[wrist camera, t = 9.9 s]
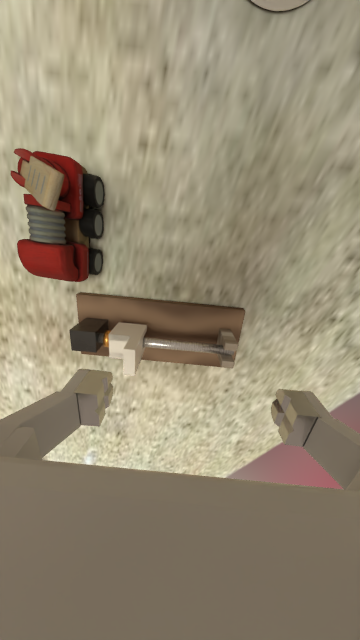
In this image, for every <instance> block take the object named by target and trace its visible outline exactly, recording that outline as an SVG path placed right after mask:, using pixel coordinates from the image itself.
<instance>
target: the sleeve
mask: <svg viewBox="0 0 360 640" xmlns="http://www.w3.org/2000/svg"><path fill="white" fill-rule="evenodd" d="M146 331H147V325H142V324H132V323H121V322H118V324H117V325H116V326H115V327H114V328H113V329H112V331H111V332H110V333H109V358H116V359H123V375H130V376H135V374H136V371H137V369H138V366H139V363H140V361H141V358H142V355H143V353H144V350H145V348H146V347H143V337H144V335H145V333H146Z"/></svg>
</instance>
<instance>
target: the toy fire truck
mask: <svg viewBox="0 0 360 640" xmlns="http://www.w3.org/2000/svg"><path fill="white" fill-rule="evenodd" d="M14 153H15V154H17V155H18V156H20V157H21V158H20V160H19V162H18V173H17V172H15V171H11V176H12V178H13V179H14V180H15V181H16V182H17V183H18V184H19V185H20V186H22V187H24V188H26V189H27V190H28V191H29V192H30V193H31V194H24V203H25V204H27V207H26V210H27V212H28V214H27V218H28V219H29V222H28V225H29V226H30V229H29V233H30V234H31V235H30V239H22V240H19V241H18V243H17V247H18V254H19V258H20V260H21V262H22V264H23V266H24V267H25V268H26V269H27V270H28V271H29V272H30V273H32V274H34V275H36V276H40V277H46V278H52V279H58V280H65V281H72V282H73V281H75V282H80V281H84V280H86V279H87V278H88V276H89V274H95V275H98V274H99V273H100V272H101V269H102V264H103V258H102V253H101V251H100V250H97V249H92V248H89V237H90V238H96V239H99V238H100V237H101V236H102V233H103V218H102V215H101V212H100V211H98V210H94V209H89V206H93V207H97V208H101V207H102V205H103V202H104V185H103V182H102V180H101V178H100V177H98V176H95V175H91V174H87V171H86V169H85V168H84V167H82V166H81V165H80V164H79V163H78V162H76V161H75V160H73V159H72V158H70V157H66V156H62V155H57V154H51V153H46V152H39V151H35V152H33V153H32V152H30V151H28V150H26V149H15V151H14Z"/></svg>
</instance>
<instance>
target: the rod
mask: <svg viewBox="0 0 360 640" xmlns="http://www.w3.org/2000/svg"><path fill="white" fill-rule="evenodd" d="M110 332H111V330H109V326H108V319H97V318H87V317H86V318H85V319H84V320H82V321H81V322H80V323H78V324H77V325H76V326H74V327H73V328H72V329H70V339H71V348H72V350H74V351H85V352H95V353H96V352H97V351H98V350H99V349H100V347H101V346H102V345H104V347H109V333H110ZM143 347H151V348H161V349H172V350H182V351H192V352H203V353H213V354H224V355H234V351H229V350H224V348H223V345H219V344H209V343H198V342H188V341H178V340H167V339H157V338H146V337H143Z"/></svg>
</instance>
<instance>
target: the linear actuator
mask: <svg viewBox="0 0 360 640" xmlns="http://www.w3.org/2000/svg"><path fill="white" fill-rule="evenodd" d="M76 296H77V308H78V319H79V323H80V322H81V321H82V320H84V319H85V318H86V317H87V318H97V319H108V326H109V330H111V331H112V329H113V328H114V327H115V326H116V325H117V324H118V322H121V323H132V324H142V325H147V331H146V333H145V335H144V337H146V338H157V339H167V340H178V341H188V342H198V343H209V344H219V345H223V348H224V350H229V351H234V355H224V354H213V353H203V352H192V351H182V350H172V349H161V348H151V347H146V348H145V350H144V353H143V355H142V358H141V359H142V360H152V361H163V362H173V363H184V364H194V365H205V366H216V367H224V368H233V367H234V361H235V356H236V352H237V349H238V342H239V338H240V333H241V329H242V324H243V320H244V315H245V310H244V309H243V308H234V307H224V306H214V305H204V304H194V303H184V302H173V301H163V300H153V299H143V298H133V297H122V296H112V295H102V294H92V293H82V292H80V293H78V294H76ZM81 353H82V354H89V355H99V356H109V347H104V345H102V346H101V347H100V349H99V350H98V351H97V352H96V353H95V352H85V351H81Z"/></svg>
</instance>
